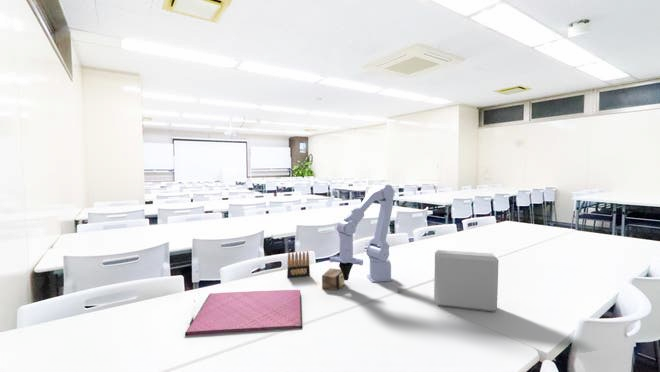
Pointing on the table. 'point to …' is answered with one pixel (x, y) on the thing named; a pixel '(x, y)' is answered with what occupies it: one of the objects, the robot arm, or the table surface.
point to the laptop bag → (248, 312)
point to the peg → (341, 280)
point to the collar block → (331, 279)
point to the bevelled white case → (466, 280)
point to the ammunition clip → (298, 266)
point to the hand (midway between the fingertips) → (346, 279)
